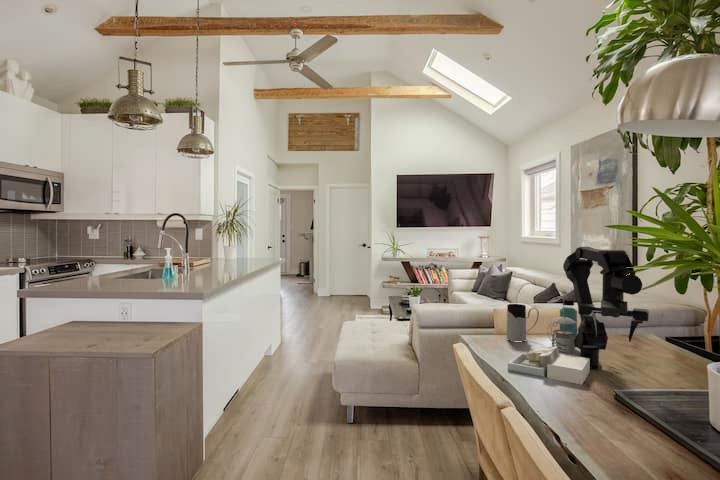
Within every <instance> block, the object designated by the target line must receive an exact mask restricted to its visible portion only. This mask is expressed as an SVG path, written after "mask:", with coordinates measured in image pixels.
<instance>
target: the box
mask: <svg viewBox="0 0 720 480" xmlns="http://www.w3.org/2000/svg"><path fill="white" fill-rule="evenodd" d="M527 357H528V355H527V353H523V352H520V353H518V354H517V355H516V356H514V357H513V358H512V359H511V360H510V361H508V362H507V371H509V372H514V373H519V374H524V375H530V376H535V377H539V378H545V377H547V364H543V365H542V366H541V367H539V368H537V367H532V366H526V365H522V362H523V361H525V360H527Z"/></svg>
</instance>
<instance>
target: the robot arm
mask: <svg viewBox="0 0 720 480" xmlns="http://www.w3.org/2000/svg"><path fill="white" fill-rule="evenodd" d="M593 262H596V263H597V265H598V266H599V267H601V268H602V269H601V270H600V271H599V274H600V275H602V288H601V290H602V295H601V297H602V298H601V300H600V301H601V302H600V307H597V306H596V307H595V304H594V301H593V298H592V295H591V291H590V286H589V282H588V280H589V277H590V275H591V269H592V267H593V265H594V263H593ZM632 263H633V262H631V259H630V257H629V255H628V254H627V251H626V250H624V249H598V248H593V247H591V246H579V247H577V248H576V249H575V251H574V252H572V253H571V254H569V255H568V256H567V257H566V258H565V260H564V262H563V266H562V267H563V270H564V273H565V276H566V278H567V279H568V280H569V281H570V282H571V283H572V287H573V290H574V294H575V300H576V303H577V308H578V310H577V315H579V317H580V324H579V326H578V327H577V329H578V331H577V333H578V334H577V336H576V338H575V339H574V345H575V348H577V349H579V350H580V351H579V353H580V355H579V357H585V358H590V369H594V370H599V369H600V368H601V366H602V363H600V350H603V351H605V350H606V349H607V344H608V339H609V337H608V333H607V331H606V326H605V323H604V322H601V321H599V320H598V319H597V315H596V314H600V315H601V316H602V317H612V318H619V317H622V316H623V317H630V318H631V317H632V319H631V320H630V328H629V333H628V342H629V343H631V341H632V338H633V336H634V333H635V331H636V329H637V327H638V326H639V324H644V322H649V319H650V310H648V309H646V308H635V307H634V308H633V309H632V310H628V306H629V305H628V301H624V298H625V297H624V294H628V295H636V294H638V293H640V292H641V290H642V288H643V282H642V279H641V278H640V277H639V276H637V275H636V271H635V269H634V268H635V267H634V265H633V264H632ZM626 267H634V268H626ZM629 273H630V275H627V274H629ZM626 275H627V276H626Z"/></svg>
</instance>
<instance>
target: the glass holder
mask: <svg viewBox="0 0 720 480" xmlns="http://www.w3.org/2000/svg"><path fill="white" fill-rule="evenodd" d="M506 307H507V311H506V337H505V339H506V338H507V339H508V340H512V341H525V340H527V341H528V339H527V334H528V332H530V330H532V329H533V328H534V327H535V326H536V325H537V323H538V321H539V314H540V313H539V310H538V309H537V308H536V307H532V308H530V309H529V310H528V312H526V311H527V310H526V309H527V307H526V305H525V304H520V303H508V304H507V306H506ZM532 310H536V313H537V314H536V315H537V316H536V320H535V322H534V323H533V325H532V326H531V327H529V328H528V330H527V319H529V318H530V316H531V315H530V314H531V311H532ZM526 313H527V314H528V315H526ZM508 340H507V341H508Z"/></svg>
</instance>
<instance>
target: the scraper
mask: <svg viewBox="0 0 720 480" xmlns="http://www.w3.org/2000/svg"><path fill="white" fill-rule="evenodd" d="M526 354H527V355H528V359H529V361H538V360H540V364H550V363H551V362H552V361H553V360H554V359H555V358H556V357H557V356H558V354H559V350H558V346H556V345H555V346H553V347H552V346H548V347H547V348H546V349H539V350H530V351H528V352H527V353H526Z"/></svg>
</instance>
